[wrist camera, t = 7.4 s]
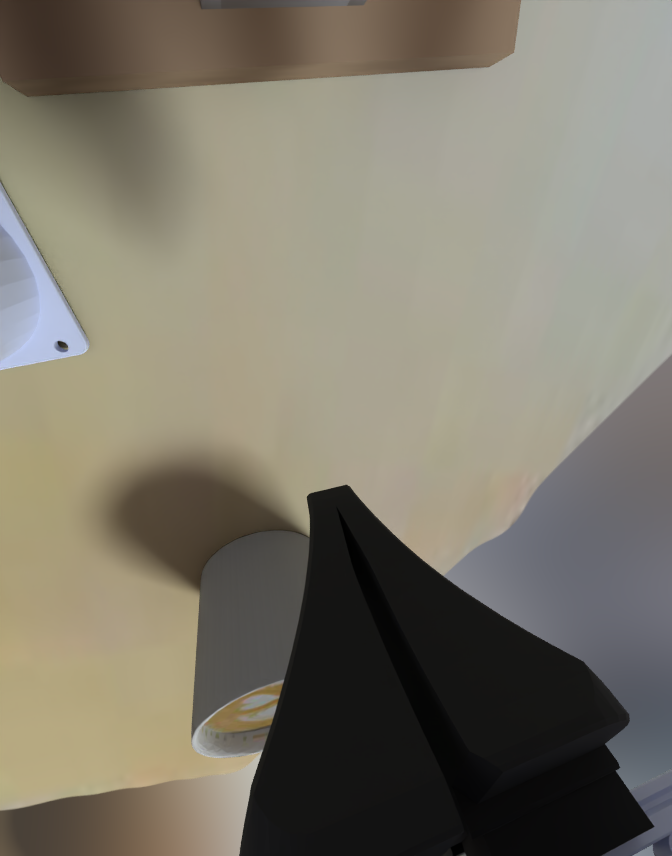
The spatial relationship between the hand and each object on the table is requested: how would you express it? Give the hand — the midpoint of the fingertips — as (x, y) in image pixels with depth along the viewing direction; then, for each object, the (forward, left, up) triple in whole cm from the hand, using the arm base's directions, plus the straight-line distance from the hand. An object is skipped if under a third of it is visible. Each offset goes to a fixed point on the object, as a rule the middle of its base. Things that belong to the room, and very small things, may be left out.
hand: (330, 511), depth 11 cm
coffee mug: (-4, -18, -11) cm, 21 cm away
